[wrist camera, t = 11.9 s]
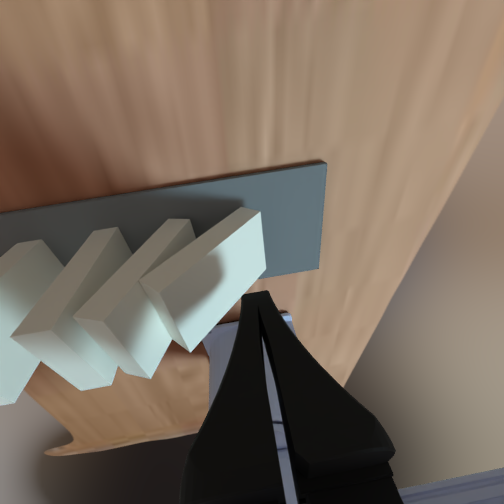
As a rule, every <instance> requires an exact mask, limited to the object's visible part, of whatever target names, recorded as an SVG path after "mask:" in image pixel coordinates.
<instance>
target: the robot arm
mask: <svg viewBox="0 0 504 504" xmlns="http://www.w3.org/2000/svg"><path fill="white" fill-rule="evenodd" d="M202 342H203V344H204V346H205V349H206V351H207V353H208V356H209V358H210V370H209V411H208V414H207V416H206V418H205V420H204V422H203V424H202V426H201V428H200V430H199V432H198V434H197V436H196V438H195V440H194V442H193V444H192V445H191V447H190V450H189V452H188V455H187V459H186V463H185V466H184V470H183V475H182V481H181V487H180V499H179V504H504V468H499V469H495V470H490V471H485V472H480V473H475V474H471V475H465V476H461V477H456V478H451V479H446V480H441V481H437V482H432V483H427V484H422V485H418V486H412V487H408V488H403V489H398V490H397V487H396V485H395V483H394V481H393V478H392V476H393V472H392V470H391V468H390V466H389V463H388V461H389V460H390V459H391V458H392V457H393V456H394V454H395V451H396V450H395V448H394V446H393V443H392V441H391V440H390V438H389V436H388V435H387V433H386V431H385V430H384V428H383V427H382V425H381V424H380V422H379V421H378V420H377V418H376V417H375V416H374V415H373V414H372V413H371V412H369V410H367V409H366V408H365V407H364V406H363V405H362V404H360V403H359V402H358V401H357V400H356V399H355V398H354V397H352V396H351V395H350V394H349V393H348V392H347V391H346V390H345V389H344V388H343V387H342V386H341V385H340V384H338V383H337V381H336V380H335V379H334V378H333V377H332V376H331V375H330V374H329V373H328V372H327V371H326V370H325V369H324V368H323V367H322V366H321V365H320V364H319V363H318V362H317V361H316V360H315V359H314V358H313V357H312V355H311V354H310V353H309V352H308V351H307V350H306V348H305V347H304V346H303V345H302V343H301V342H300V341H299V340H298V338H297V337H296V333H295V330H294V327H293V324H292V317H291V314H290V313H282V314H280V312H279V311H278V309H277V307H276V306H275V304H274V302H273V300H272V298H271V296H270V293H269V291H267V290H266V291H260V292H254V293H248V294H243V295H242V296H241V312H240V319H239V321H237V322H232V323H226V324H221V325H215V326H214V327H213V328H212V329H211V331H210V332H209V333H208V334H207V335H206V336H205V337H204V338H203V339H202Z"/></svg>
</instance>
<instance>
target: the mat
mask: <svg viewBox="0 0 504 504" xmlns="http://www.w3.org/2000/svg"><path fill="white" fill-rule="evenodd" d="M326 174H327V163H326V162H321V163H315V164H308V165H302V166H296V167H289V168H283V169H277V170H270V171H264V172H258V173H251V174H245V175H239V176H232V177H226V178H220V179H213V180H207V181H200V182H194V183H188V184H181V185H175V186H169V187H162V188H156V189H150V190H143V191H137V192H131V193H124V194H118V195H112V196H105V197H99V198H93V199H86V200H80V201H74V202H67V203H61V204H55V205H48V206H42V207H36V208H29V209H23V210H17V211H10V212H4V213H0V257H1V256H2V255H4V254H5V253H6V252H7V251H8V250H10V249H11V248H12V247H13V246H14V245H16V244H17V243H21V242H27V241H34V240H40V239H42V240H43V241H44V243H45V244H46V245H47V246H48V247H49V249H50V250H51V251H52V252H53V254H54V255H55V256H56V257H57V259H58V260H59V261H60V262H61V264H62V265H63V266H64V267H65V266H66V265H67V264H68V263H69V261H70V260H71V259H72V257H73V256H74V255H75V254H76V252H77V251H78V250H79V249H80V247H81V246H82V245H83V244H84V242H85V241H86V240H87V238H88V237H89V236H90V235H91V233H92V232H93V231H95V230H101V229H107V228H114V227H118V228H119V230H120V232H121V234H122V236H123V237H124V239H125V241H126V243H127V245H128V247H129V249H130V250H131V252H132V254H134V253H135V252H136V251H137V250H138V249H139V248H140V247H141V246H142V245H143V244H144V243H145V242H146V241H147V240H148V239H149V238H150V237H151V236H152V235H153V234H154V233H155V232H156V231H157V230H158V229H159V228H160V227H161V226H162V225H163V224H164V223H165V222H166V221H167V220H168V219H190V221H191V224H192V227H193V231H194V234H195V237H196V239H197V238H198V237H200V236H201V235H202V234H204V233H205V232H207V231H208V230H209V229H211V228H212V227H213V226H215V225H216V224H218V223H219V222H220V221H222V220H223V219H225V218H226V217H227V216H229V215H230V214H232V213H233V212H234V211H236V210H237V209H239V208H240V207H244V208H248V209H252V210H257V211H260V212H261V222H262V232H263V242H264V252H265V262H266V270H265V271H264V272H263V273H262V274H261V275H260V276H259V277H258V279H262V278H268V277H274V276H279V275H285V274H291V273H297V272H302V271H308V270H314V269H319V258H320V246H321V234H322V222H323V210H324V198H325V186H326Z"/></svg>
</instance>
